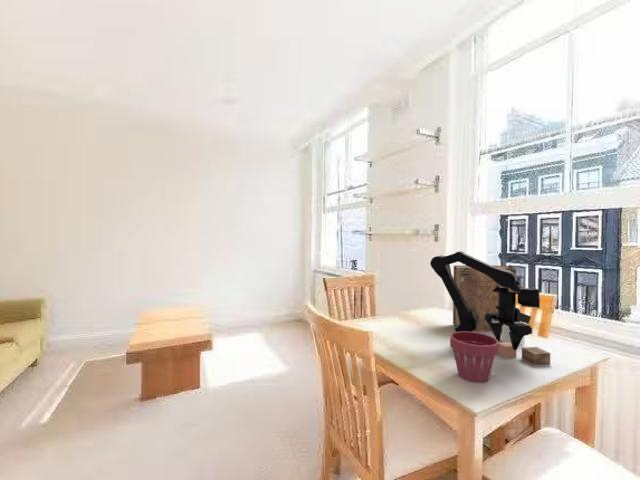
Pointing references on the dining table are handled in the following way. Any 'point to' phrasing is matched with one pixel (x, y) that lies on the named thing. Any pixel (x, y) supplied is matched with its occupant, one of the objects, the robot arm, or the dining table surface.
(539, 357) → the base block
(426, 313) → the dining table surface
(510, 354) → the cube
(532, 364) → the gray square frame
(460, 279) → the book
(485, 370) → the plant pot
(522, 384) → the dining table surface
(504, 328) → the mug
